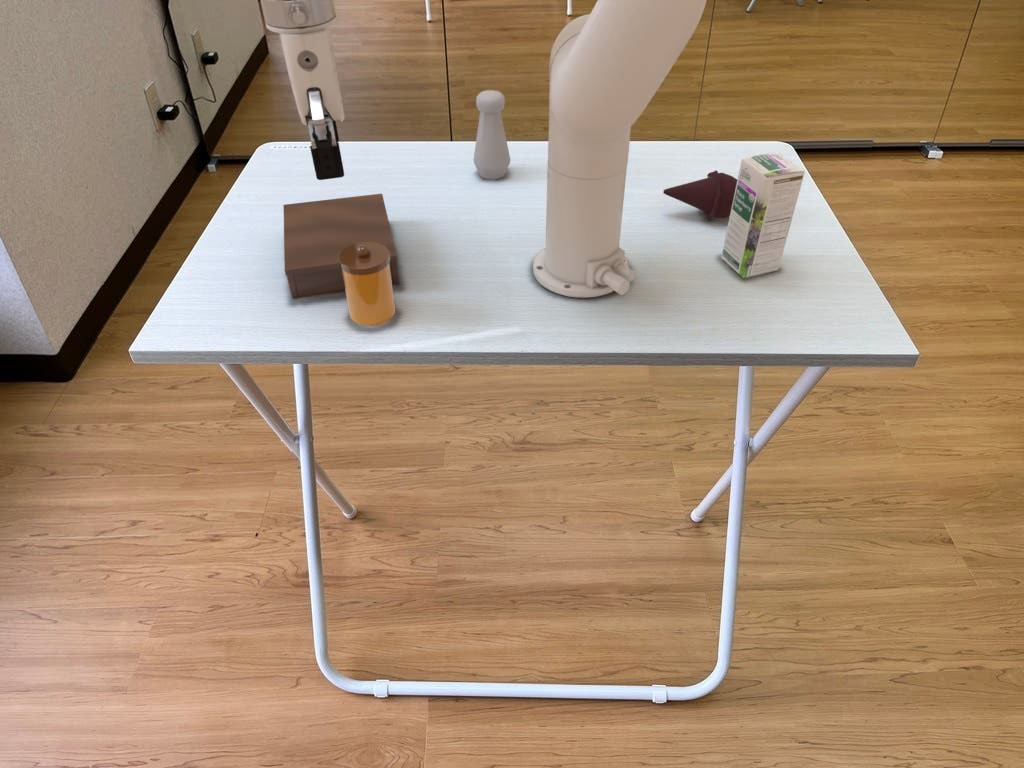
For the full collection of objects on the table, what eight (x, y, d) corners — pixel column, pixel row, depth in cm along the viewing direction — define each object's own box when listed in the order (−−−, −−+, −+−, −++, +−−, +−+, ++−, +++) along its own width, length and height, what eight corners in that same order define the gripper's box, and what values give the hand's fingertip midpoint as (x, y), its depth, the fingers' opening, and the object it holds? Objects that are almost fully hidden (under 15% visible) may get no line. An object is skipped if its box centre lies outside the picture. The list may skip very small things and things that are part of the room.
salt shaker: (506, 183, 122) (505, 102, 113) (470, 180, 123) (466, 99, 114) (513, 167, 126) (512, 87, 118) (479, 164, 127) (476, 84, 119)
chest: (400, 288, 100) (396, 260, 98) (293, 303, 98) (286, 274, 95) (386, 225, 112) (382, 198, 110) (290, 237, 110) (284, 210, 107)
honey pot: (399, 327, 94) (390, 256, 88) (351, 334, 93) (338, 262, 87) (394, 300, 99) (385, 229, 92) (347, 306, 98) (334, 236, 91)
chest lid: (397, 261, 97) (396, 255, 96) (285, 275, 94) (284, 270, 94) (382, 198, 110) (382, 193, 109) (284, 209, 107) (283, 204, 107)
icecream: (671, 190, 107) (778, 199, 107) (667, 154, 111) (770, 163, 111) (659, 227, 112) (761, 235, 113) (656, 191, 116) (754, 199, 117)
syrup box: (718, 258, 105) (738, 157, 96) (756, 249, 107) (779, 149, 97) (742, 279, 101) (765, 177, 92) (780, 270, 103) (807, 168, 93)
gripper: (339, 29, 77) (366, 188, 88) (329, -16, 90) (354, 127, 101) (262, 37, 76) (299, 196, 87) (263, -10, 88) (295, 134, 100)
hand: (328, 159), depth 94 cm, fingers open, 9 cm apart
